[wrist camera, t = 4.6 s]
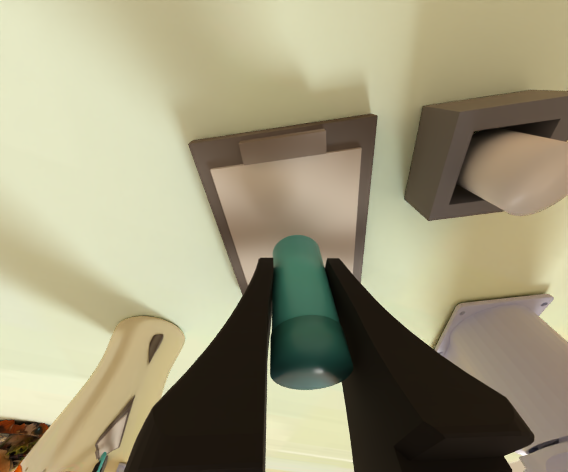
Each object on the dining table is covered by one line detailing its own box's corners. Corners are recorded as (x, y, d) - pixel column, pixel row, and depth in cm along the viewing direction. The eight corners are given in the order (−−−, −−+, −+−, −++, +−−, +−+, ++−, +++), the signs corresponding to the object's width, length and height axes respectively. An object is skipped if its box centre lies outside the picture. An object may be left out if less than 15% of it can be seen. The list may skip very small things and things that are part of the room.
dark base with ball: (10, 441, 38) (-41, 510, 32) (-39, 417, 31) (-116, 499, 25) (85, 440, 39) (50, 507, 33) (53, 417, 32) (2, 495, 26)
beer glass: (93, 317, 19) (-235, 746, 7) (170, 307, 19) (-29, 743, 6) (136, 357, 23) (-21, 672, 11) (201, 349, 23) (114, 667, 10)
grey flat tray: (356, 282, 18) (362, 296, 17) (246, 294, 18) (244, 309, 17) (371, 113, 11) (382, 117, 10) (193, 140, 11) (183, 147, 10)
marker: (321, 268, 13) (351, 385, 8) (275, 274, 13) (276, 393, 8) (319, 230, 11) (355, 346, 6) (267, 237, 11) (263, 356, 6)
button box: (487, 188, 13) (528, 208, 11) (404, 199, 14) (428, 220, 11) (530, 89, 10) (595, 91, 8) (423, 105, 11) (459, 111, 9)
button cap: (495, 181, 12) (560, 210, 9) (441, 188, 12) (489, 219, 9) (521, 123, 10) (609, 138, 7) (458, 132, 10) (522, 150, 8)
